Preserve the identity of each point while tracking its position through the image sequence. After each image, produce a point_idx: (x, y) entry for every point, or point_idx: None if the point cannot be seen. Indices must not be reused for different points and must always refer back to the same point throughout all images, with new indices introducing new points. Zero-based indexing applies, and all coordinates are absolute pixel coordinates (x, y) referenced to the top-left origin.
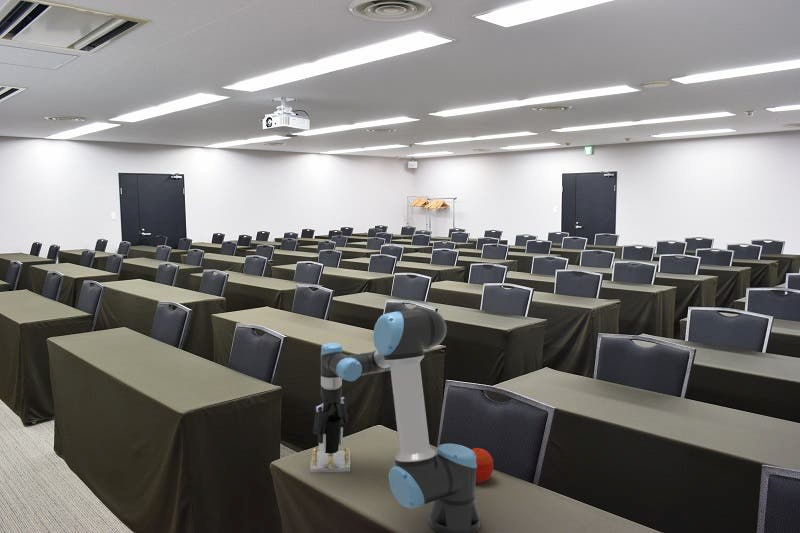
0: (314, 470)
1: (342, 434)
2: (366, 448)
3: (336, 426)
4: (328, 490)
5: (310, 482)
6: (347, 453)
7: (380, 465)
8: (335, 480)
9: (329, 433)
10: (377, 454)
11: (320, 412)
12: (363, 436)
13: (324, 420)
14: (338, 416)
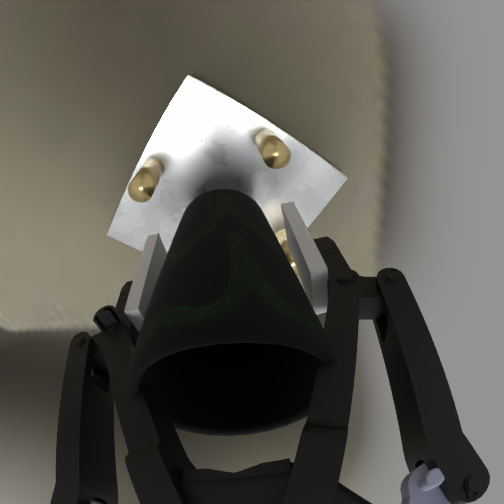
0: (330, 164)
1: (135, 274)
2: (43, 238)
3: (224, 293)
4: (365, 7)
5: (384, 104)
6: (147, 169)
7: (46, 75)
8: (296, 45)
9: (283, 266)
10: (21, 174)
11: (461, 448)
12: (40, 311)
13: (352, 381)
14: (149, 404)
